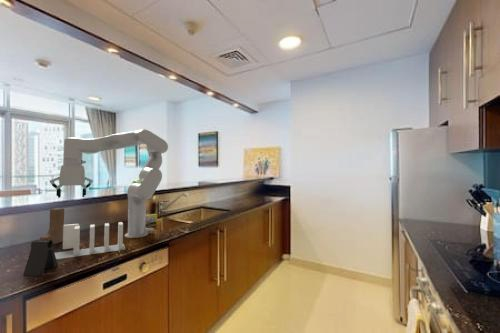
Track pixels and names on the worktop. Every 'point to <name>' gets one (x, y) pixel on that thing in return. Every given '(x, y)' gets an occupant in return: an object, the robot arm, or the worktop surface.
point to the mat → (86, 251)
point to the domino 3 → (92, 238)
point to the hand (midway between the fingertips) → (71, 197)
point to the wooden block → (55, 226)
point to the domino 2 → (76, 240)
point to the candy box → (151, 220)
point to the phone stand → (40, 258)
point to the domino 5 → (120, 235)
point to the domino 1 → (68, 236)
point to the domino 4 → (106, 237)
